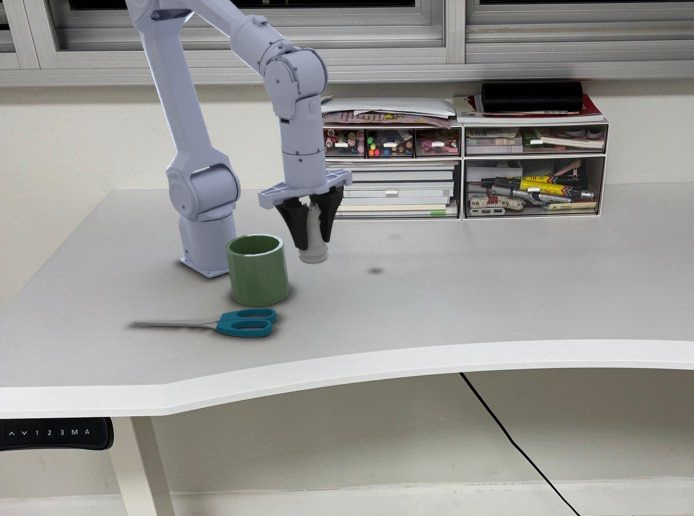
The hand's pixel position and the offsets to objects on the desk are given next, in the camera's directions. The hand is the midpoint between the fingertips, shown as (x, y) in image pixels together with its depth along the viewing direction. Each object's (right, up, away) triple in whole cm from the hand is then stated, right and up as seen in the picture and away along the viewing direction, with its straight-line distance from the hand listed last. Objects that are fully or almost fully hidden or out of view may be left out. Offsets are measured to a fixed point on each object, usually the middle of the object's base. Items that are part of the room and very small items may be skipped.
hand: (312, 244), depth 114 cm
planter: (-9, -6, +7) cm, 13 cm away
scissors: (-15, -12, -1) cm, 19 cm away
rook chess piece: (0, -2, +1) cm, 2 cm away
